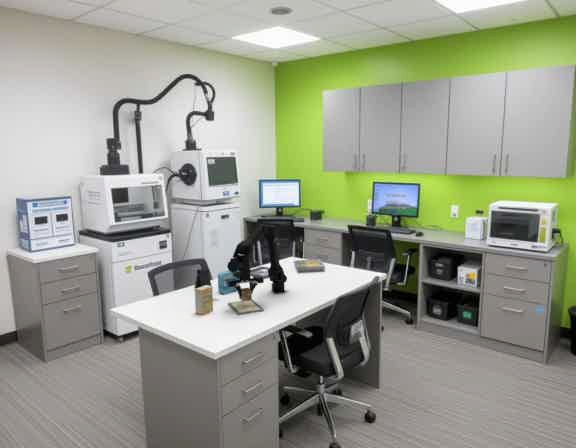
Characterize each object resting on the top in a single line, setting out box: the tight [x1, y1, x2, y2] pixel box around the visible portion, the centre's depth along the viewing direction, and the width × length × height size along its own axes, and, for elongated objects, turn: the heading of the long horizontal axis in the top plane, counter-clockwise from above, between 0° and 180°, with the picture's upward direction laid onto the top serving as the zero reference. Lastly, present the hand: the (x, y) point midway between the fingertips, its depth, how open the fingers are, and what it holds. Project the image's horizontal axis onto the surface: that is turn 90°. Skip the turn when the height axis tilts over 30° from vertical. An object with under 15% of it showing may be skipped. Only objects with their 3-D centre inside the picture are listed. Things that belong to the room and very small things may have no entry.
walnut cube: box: [238, 287, 253, 301], centre depth 235 cm, size 5×5×5 cm
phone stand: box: [194, 267, 212, 289], centre depth 270 cm, size 9×6×12 cm, turn 49°
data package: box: [217, 269, 239, 295], centre depth 263 cm, size 12×4×12 cm, turn 133°
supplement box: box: [194, 285, 214, 316], centre depth 229 cm, size 8×5×13 cm, turn 148°
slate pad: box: [227, 299, 265, 316], centre depth 236 cm, size 14×18×1 cm
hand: (245, 297), depth 236 cm, fingers closed on walnut cube, 5 cm apart
